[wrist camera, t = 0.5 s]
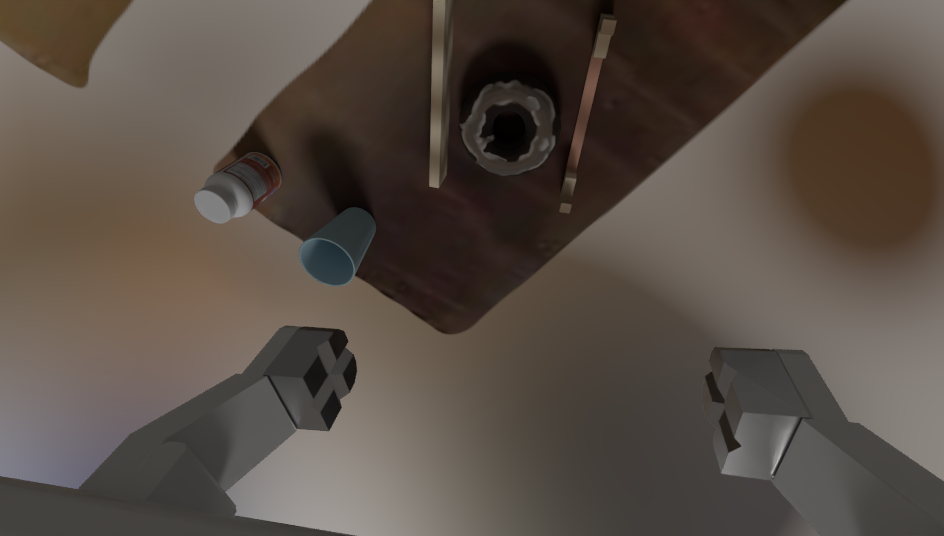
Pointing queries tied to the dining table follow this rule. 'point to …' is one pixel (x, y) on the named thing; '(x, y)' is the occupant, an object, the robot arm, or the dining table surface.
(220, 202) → the pill bottle
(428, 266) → the dining table surface
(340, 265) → the cup
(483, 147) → the donut
